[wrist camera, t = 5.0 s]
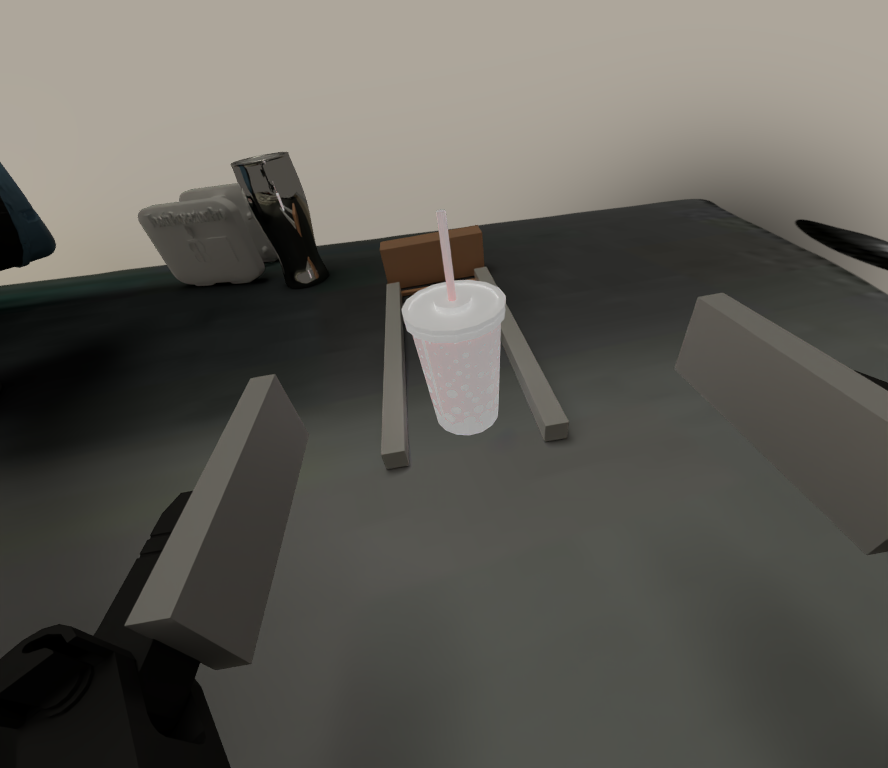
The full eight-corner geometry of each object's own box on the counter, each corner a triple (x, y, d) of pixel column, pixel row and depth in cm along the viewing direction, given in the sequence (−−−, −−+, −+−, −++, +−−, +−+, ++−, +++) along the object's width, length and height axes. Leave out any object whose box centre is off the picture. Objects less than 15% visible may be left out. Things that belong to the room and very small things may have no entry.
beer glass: (291, 273, 54) (242, 158, 45) (336, 266, 54) (296, 148, 44) (277, 293, 49) (218, 167, 39) (326, 286, 49) (279, 157, 39)
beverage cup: (526, 405, 26) (529, 197, 17) (471, 458, 23) (441, 240, 14) (464, 375, 30) (440, 190, 21) (409, 417, 27) (355, 223, 18)
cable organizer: (296, 257, 60) (265, 179, 53) (263, 285, 52) (220, 198, 45) (220, 263, 63) (181, 190, 56) (178, 290, 55) (125, 210, 48)
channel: (566, 437, 24) (574, 379, 20) (386, 469, 24) (365, 415, 20) (480, 264, 47) (477, 225, 44) (390, 280, 47) (380, 242, 44)
